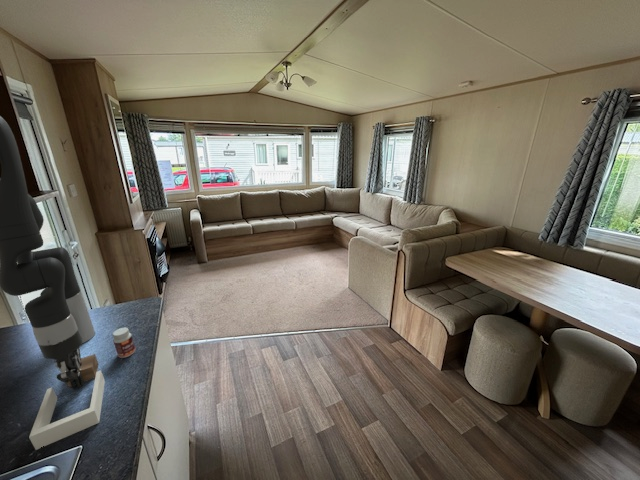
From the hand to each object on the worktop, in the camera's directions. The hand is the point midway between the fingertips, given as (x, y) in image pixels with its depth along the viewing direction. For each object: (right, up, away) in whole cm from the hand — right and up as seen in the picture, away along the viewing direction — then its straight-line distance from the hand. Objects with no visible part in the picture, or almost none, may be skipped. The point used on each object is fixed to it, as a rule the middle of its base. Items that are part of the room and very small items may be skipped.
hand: (79, 386), depth 73 cm
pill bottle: (+4, +4, +13) cm, 14 cm away
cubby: (+4, -3, -6) cm, 8 cm away
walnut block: (-3, +1, +5) cm, 5 cm away
